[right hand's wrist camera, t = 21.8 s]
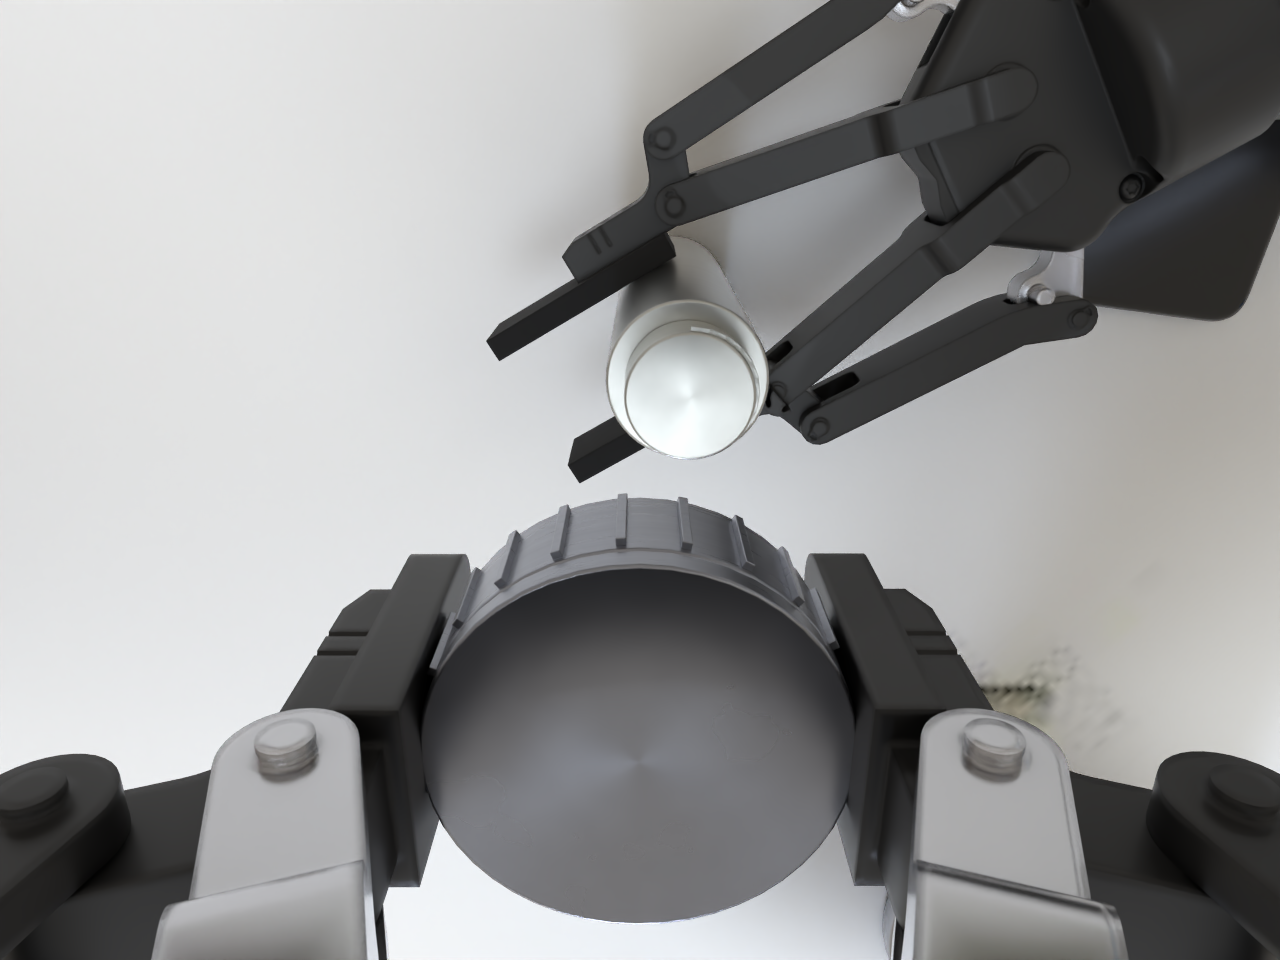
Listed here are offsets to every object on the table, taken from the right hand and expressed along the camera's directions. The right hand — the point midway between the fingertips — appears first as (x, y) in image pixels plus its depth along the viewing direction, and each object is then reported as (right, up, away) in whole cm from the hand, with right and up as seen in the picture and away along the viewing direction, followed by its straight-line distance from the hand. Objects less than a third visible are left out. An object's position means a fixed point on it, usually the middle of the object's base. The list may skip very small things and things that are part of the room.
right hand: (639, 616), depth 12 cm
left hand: (-3, +5, +18) cm, 19 cm away
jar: (+1, +9, +23) cm, 25 cm away
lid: (0, -1, -2) cm, 3 cm away
